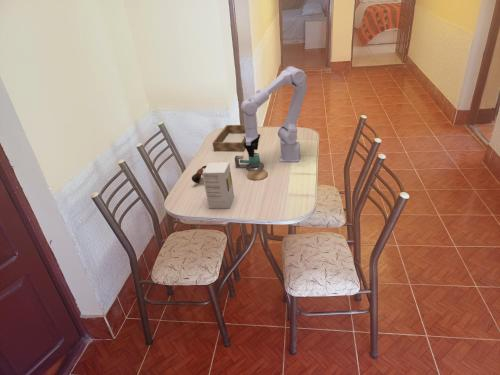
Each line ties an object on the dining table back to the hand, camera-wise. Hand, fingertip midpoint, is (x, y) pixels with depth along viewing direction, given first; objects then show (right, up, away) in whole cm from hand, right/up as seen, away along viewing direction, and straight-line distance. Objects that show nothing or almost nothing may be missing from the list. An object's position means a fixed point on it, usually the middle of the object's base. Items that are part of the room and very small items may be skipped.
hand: (253, 153), depth 171 cm
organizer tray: (-10, +10, +33) cm, 36 cm away
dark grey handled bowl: (-2, -6, +5) cm, 8 cm away
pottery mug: (-23, -14, -3) cm, 28 cm away
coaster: (+2, -11, -3) cm, 11 cm away
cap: (-2, -4, +3) cm, 6 cm away
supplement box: (-14, -23, -20) cm, 34 cm away
